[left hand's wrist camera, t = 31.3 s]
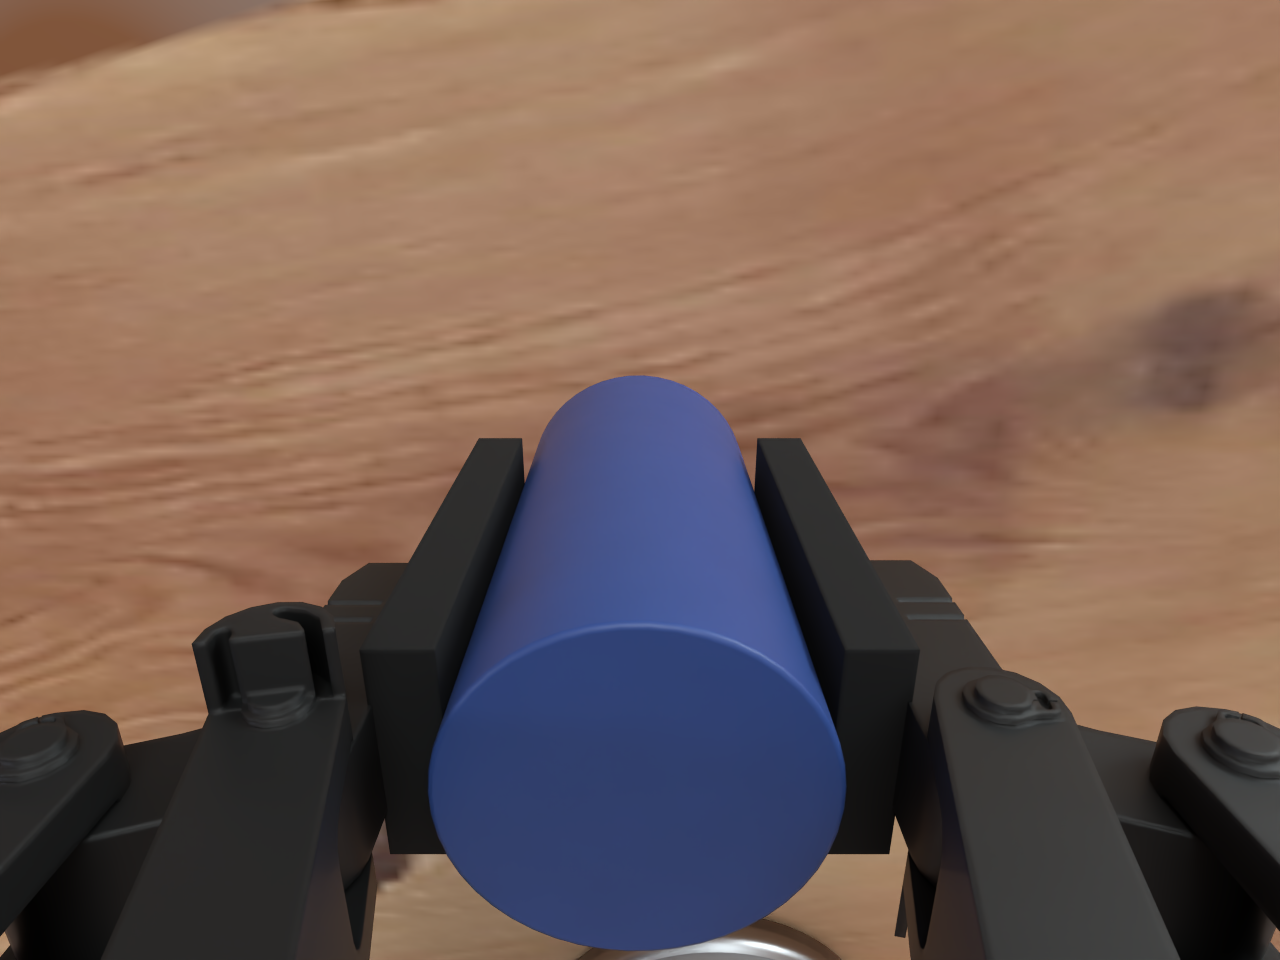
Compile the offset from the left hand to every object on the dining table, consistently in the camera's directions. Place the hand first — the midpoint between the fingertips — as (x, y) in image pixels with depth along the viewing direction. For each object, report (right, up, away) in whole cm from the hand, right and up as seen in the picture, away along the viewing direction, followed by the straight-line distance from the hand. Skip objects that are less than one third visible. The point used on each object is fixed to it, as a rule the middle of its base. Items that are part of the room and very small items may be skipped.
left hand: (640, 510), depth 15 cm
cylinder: (0, +1, +2) cm, 2 cm away
